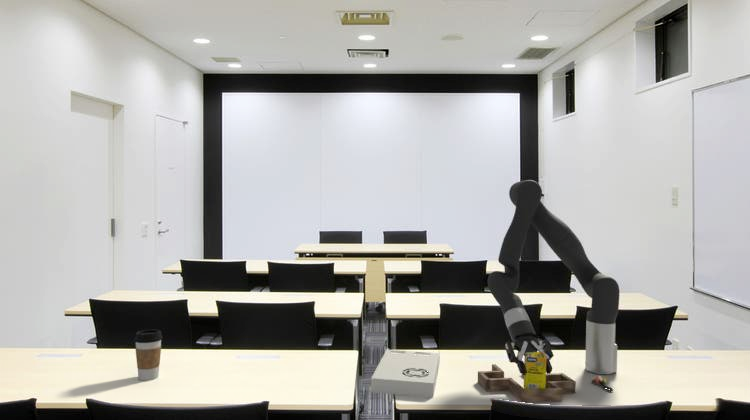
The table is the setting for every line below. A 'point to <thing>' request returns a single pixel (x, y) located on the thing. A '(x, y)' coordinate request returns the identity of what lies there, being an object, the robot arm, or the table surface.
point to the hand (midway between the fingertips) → (537, 373)
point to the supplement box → (535, 370)
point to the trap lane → (553, 392)
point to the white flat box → (406, 373)
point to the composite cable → (601, 383)
